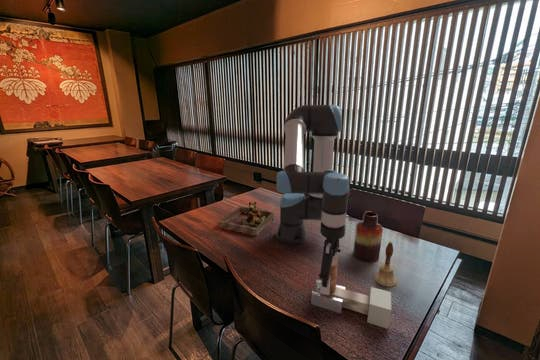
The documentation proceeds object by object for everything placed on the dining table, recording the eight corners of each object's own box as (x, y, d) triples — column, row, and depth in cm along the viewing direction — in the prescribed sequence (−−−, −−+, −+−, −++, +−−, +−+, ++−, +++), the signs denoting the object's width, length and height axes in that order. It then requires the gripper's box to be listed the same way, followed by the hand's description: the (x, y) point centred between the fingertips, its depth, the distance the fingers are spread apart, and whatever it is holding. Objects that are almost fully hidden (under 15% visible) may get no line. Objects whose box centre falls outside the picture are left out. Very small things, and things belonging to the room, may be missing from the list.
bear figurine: (238, 228, 138) (237, 208, 135) (247, 216, 152) (246, 198, 149) (262, 231, 135) (262, 210, 132) (269, 219, 149) (269, 200, 146)
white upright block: (367, 322, 79) (369, 303, 77) (368, 304, 86) (371, 286, 84) (388, 329, 76) (391, 310, 74) (388, 310, 83) (390, 292, 81)
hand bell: (369, 273, 101) (374, 238, 97) (389, 271, 102) (395, 237, 97) (380, 287, 93) (385, 250, 89) (401, 286, 94) (408, 249, 89)
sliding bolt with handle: (319, 301, 86) (321, 266, 82) (322, 291, 90) (324, 257, 86) (382, 320, 78) (388, 282, 74) (383, 309, 82) (388, 273, 78)
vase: (366, 265, 106) (372, 221, 100) (348, 252, 115) (352, 211, 109) (384, 258, 111) (390, 216, 105) (365, 246, 120) (369, 207, 114)
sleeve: (311, 304, 86) (311, 293, 85) (316, 290, 92) (317, 279, 91) (341, 313, 82) (342, 302, 81) (344, 298, 89) (345, 287, 87)
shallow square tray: (219, 228, 139) (219, 221, 137) (240, 211, 159) (240, 206, 157) (256, 236, 130) (256, 229, 128) (274, 218, 150) (274, 212, 148)
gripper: (338, 245, 66) (333, 310, 73) (350, 209, 88) (345, 262, 94) (310, 239, 69) (307, 302, 75) (329, 206, 91) (325, 257, 97)
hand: (328, 280), depth 85 cm, fingers open, 13 cm apart
